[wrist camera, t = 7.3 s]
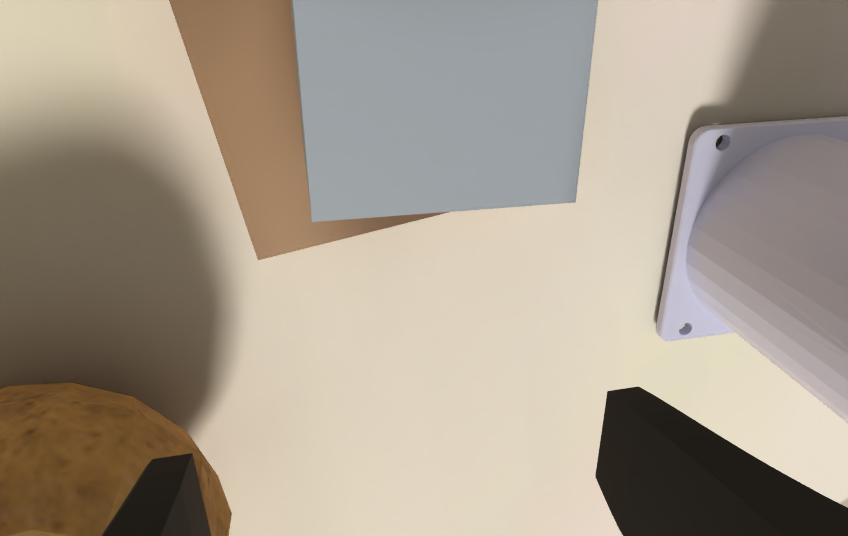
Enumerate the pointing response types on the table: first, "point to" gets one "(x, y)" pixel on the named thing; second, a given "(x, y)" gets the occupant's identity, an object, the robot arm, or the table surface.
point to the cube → (441, 103)
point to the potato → (85, 459)
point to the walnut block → (261, 119)
